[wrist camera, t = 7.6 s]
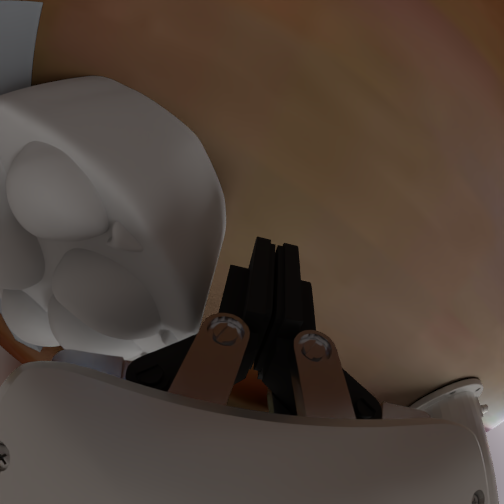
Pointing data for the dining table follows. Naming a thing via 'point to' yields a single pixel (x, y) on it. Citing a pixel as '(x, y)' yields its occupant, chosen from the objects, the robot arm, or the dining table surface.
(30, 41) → the grey long bar
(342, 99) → the dining table surface
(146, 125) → the lumpy-topped squat cylinder
